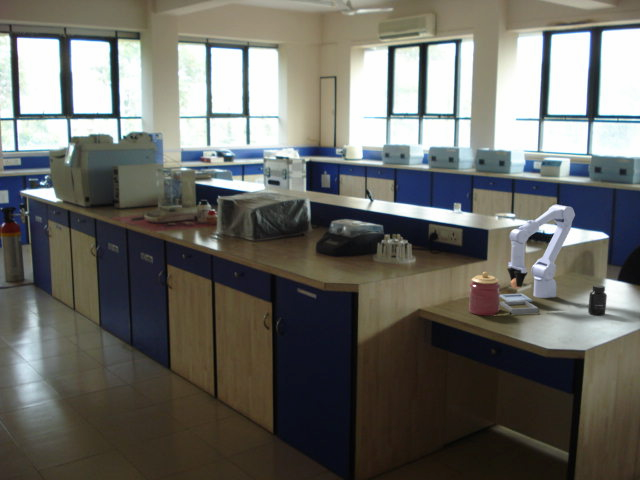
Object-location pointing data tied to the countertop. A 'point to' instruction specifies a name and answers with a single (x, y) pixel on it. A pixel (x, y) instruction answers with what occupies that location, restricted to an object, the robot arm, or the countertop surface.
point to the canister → (484, 295)
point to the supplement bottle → (597, 300)
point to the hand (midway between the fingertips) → (516, 285)
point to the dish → (516, 297)
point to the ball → (514, 284)
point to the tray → (520, 310)
